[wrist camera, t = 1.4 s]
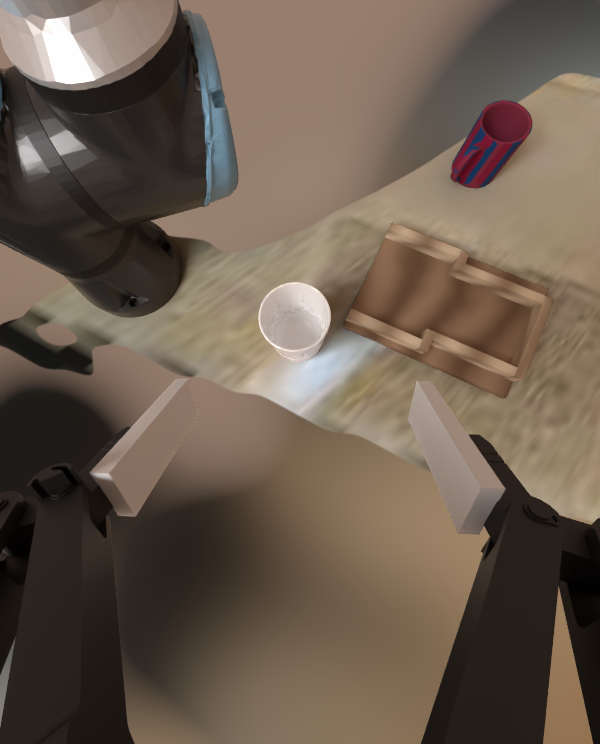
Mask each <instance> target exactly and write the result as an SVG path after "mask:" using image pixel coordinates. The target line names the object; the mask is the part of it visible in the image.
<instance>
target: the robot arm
mask: <svg viewBox="0 0 600 744" xmlns="http://www.w3.org/2000/svg"><path fill="white" fill-rule="evenodd" d="M0 37H1V42H2V46H3V48H4V50H5V52H6V54H7V56H8V57H9V59H10V60H11V62H12V63H13V64H14V66H13V67H10V68H6V69H1V68H0V243H2V244H4V245H6V246H8V247H10V248H12V249H13V250H15V251H17V252H19V253H21V254H23V255H25V256H27V257H29V258H31V259H33V260H35V261H37V262H39V263H41V264H43V265H45V266H47V267H49V268H50V269H53V270H55V271H56V272H59V273H60V274H62V275H64V276H65V277H66V278H67V279H68V280H69V281H70V282H71V283H72V284H73V285H74V287H75V288H76V289H77V290H78V291H79V292H80V293H81V294H82V295H83V296H84V297H85V298H86V299H87V300H88V301H90V302H91V303H92V304H94V305H95V306H97V307H98V308H100V309H102V310H104V311H106V312H109V313H111V314H113V315H116V316H120V317H139V316H143V315H146V314H149V313H151V312H153V311H155V310H157V309H158V308H160V307H161V306H162V305H164V304H165V303H166V302H167V301H168V300H169V299H170V298H171V296H172V295H173V294H174V292H175V290H176V288H177V286H178V284H179V281H180V278H181V273H182V261H181V256H180V253H179V250H178V248H177V247H176V245H175V243H174V242H173V241H172V240H171V238H170V237H169V236H168V235H167V234H166V233H165V231H163V230H162V229H161V228H160V227H159V226H157V225H156V224H155V223H153V222H151V220H154V219H158V218H161V217H165V216H169V215H173V214H176V213H180V212H183V211H187V210H190V209H194V208H198V207H202V206H203V207H206V206H208V205H209V203H210V202H213V201H215V200H218V199H221V198H224V197H227V196H229V195H230V194H231V193H232V192H233V191H234V190H235V189H236V187H237V183H238V166H237V159H236V152H235V147H234V141H233V135H232V130H231V125H230V120H229V115H228V110H227V107H226V104H225V102H224V98H225V97H224V93H223V89H222V83H221V78H220V73H219V68H218V64H217V60H216V56H215V52H214V48H213V44H212V41H211V37H210V34H209V31H208V28H207V25H206V23H205V20H204V19H203V18H202V17H201V15H199V14H197V13H192V12H191V11H189V10H188V11H187V10H185V11H183V14H182V11H181V7H180V4H179V2H178V0H0ZM198 416H199V413H198V409H197V406H196V403H195V400H194V397H193V393H192V389H191V386H190V383H189V380H188V379H175V380H174V381H173V382H172V383H171V385H170V386H169V387H168V388H167V389H166V390H165V391H164V392H163V393H162V394H161V395H160V397H159V398H158V399H157V400H156V401H155V402H154V403H153V404H152V405H151V407H149V409H148V410H147V411H146V412H145V413H144V414H143V415H142V416H141V417H140V418H139V419H138V420H137V422H136V423H135V424H134V425H133V426H132V427H126V428H125V429H123V430H122V431H121V432H119V433H117V434H116V435H115V436H114V437H113V438H112V439H111V440H110V441H109V442H108V444H106V445H105V446H104V447H103V449H102V451H100V452H99V453H98V454H97V455H96V456H95V457H94V458H93V459H92V460H91V461H90V462H89V463H88V464H87V465H86V466H85V467H84V468H83V469H82V471H81V472H79V473H77V472H76V470H75V469H74V468H73V466H72V465H71V464H69V463H59V464H56V465H52V466H50V467H48V468H46V469H44V470H42V471H41V472H39V473H38V474H37V475H35V476H34V477H33V478H32V479H31V480H30V481H29V483H28V484H27V486H26V487H27V489H28V490H29V491H30V492H31V493H32V494H33V495H34V496H32V497H27V498H23V497H22V496H21V495H20V494H19V493H18V492H15V491H9V492H4V493H1V494H0V554H1V552H2V551H3V552H4V553H3V555H2V557H1V558H0V674H1V672H2V669H3V667H4V664H5V661H6V659H7V657H8V654H9V651H10V649H11V646H12V644H13V641H14V639H15V636H16V639H15V644H14V650H13V656H12V663H11V668H10V674H9V680H8V686H7V692H6V698H5V704H4V709H3V715H2V721H1V727H0V744H134V741H133V739H132V736H131V734H130V731H129V728H128V723H127V715H126V702H125V691H124V679H123V667H122V656H121V645H120V632H119V620H118V608H117V597H116V585H115V574H114V563H113V550H112V538H111V526H110V519H109V517H108V513H109V512H110V511H111V509H112V508H114V510H115V511H116V513H117V514H118V515H119V516H136V515H137V513H138V512H139V510H140V508H141V507H142V505H143V504H144V502H145V500H146V499H147V497H148V496H149V494H150V492H151V491H152V489H153V488H154V486H155V484H156V483H157V481H158V480H159V478H160V476H161V475H162V473H163V472H164V470H165V468H166V467H167V465H168V464H169V462H170V460H171V459H172V457H173V456H174V454H175V452H176V451H177V449H178V448H179V446H180V444H181V443H182V441H183V440H184V438H185V437H186V435H187V433H188V432H189V430H190V429H191V427H192V425H193V424H194V422H195V421H196V419H197V417H198ZM408 420H409V423H410V425H411V427H412V430H413V432H414V434H415V436H416V439H417V441H418V443H419V446H420V448H421V450H422V452H423V455H424V457H425V459H426V462H427V464H428V466H429V468H430V471H431V473H432V475H433V478H434V480H435V482H436V484H437V487H438V489H439V491H440V493H441V496H442V498H443V500H444V503H445V505H446V507H447V509H448V512H449V514H450V516H451V519H452V521H453V523H454V525H455V528H456V530H457V532H458V533H459V534H480V532H481V530H482V529H483V527H484V526H485V528H486V530H487V532H488V534H489V536H490V538H489V539H488V541H487V542H486V544H485V545H484V547H483V549H482V550H481V552H483V556H482V559H481V562H480V565H479V568H478V571H477V574H476V577H475V580H474V583H473V586H472V589H471V592H470V595H469V599H468V601H467V604H466V608H465V611H464V614H463V617H462V620H461V623H460V626H459V629H458V632H457V635H456V638H455V641H454V644H453V647H452V650H451V654H450V656H449V660H448V662H447V666H446V669H445V672H444V675H443V678H442V681H441V684H440V687H439V690H438V693H437V696H436V699H435V702H434V705H433V709H432V711H431V715H430V717H429V721H428V724H427V727H426V730H425V733H424V736H423V739H422V742H421V744H543V736H544V726H545V717H546V707H547V696H548V687H549V677H550V666H551V656H552V646H553V635H554V626H555V616H556V606H557V596H558V586H559V589H560V593H561V598H562V603H563V607H564V612H565V616H566V621H567V625H568V630H569V634H570V639H571V644H572V648H573V653H574V657H575V662H576V667H577V671H578V676H579V680H580V685H581V689H582V694H583V698H584V703H585V708H586V712H587V717H588V721H589V726H590V730H591V735H592V740H593V744H600V518H598V519H597V520H596V521H595V522H594V523H593V524H592V525H589V524H586V523H583V522H579V521H576V520H573V519H569V518H566V517H563V516H560V515H559V514H558V513H557V512H556V511H555V510H554V509H553V508H552V507H551V506H550V505H548V504H547V503H545V502H543V501H542V500H540V499H537V498H535V497H532V496H530V495H529V493H528V492H527V491H526V489H525V488H524V487H523V485H522V484H521V483H520V481H519V480H518V479H517V478H516V476H515V475H514V474H513V472H512V471H511V470H510V468H509V467H508V466H507V464H505V463H504V460H503V459H502V458H501V457H500V455H498V453H497V451H496V450H495V449H494V447H493V446H492V445H491V443H489V442H488V441H487V440H485V439H484V438H483V437H481V436H480V435H468V434H467V432H466V431H465V429H464V428H463V426H462V425H461V424H460V422H459V421H458V419H457V418H456V416H455V415H454V413H453V412H452V410H451V409H450V408H449V406H448V405H447V403H446V402H445V400H444V399H443V397H442V396H441V394H440V393H439V392H438V390H437V389H436V387H435V386H434V384H433V383H432V381H417V382H416V386H415V391H414V395H413V399H412V404H411V408H410V412H409V417H408Z"/></svg>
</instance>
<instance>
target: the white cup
mask: <svg viewBox="0 0 600 744" xmlns="http://www.w3.org/2000/svg"><path fill="white" fill-rule="evenodd" d="M330 322H331V311H330V307H329V304H328V302H327V300H326V298H325V297H324V295H323V294H322V293H321V292H320V291H319V290H318V289H316V288H315V287H313V286H311V285H309V284H306V283H301V282H290V283H285V284H282V285H280V286H278V287H276V288H274V289H273V290H272V291H271V292H269V293H268V294H267V296H266V297H265V298H264V300H263V302H262V304H261V306H260V310H259V325H260V329H261V331H262V333H263V335H264V337H265V338H266V339H267V340H268V342H269V343H270V344H271V345H272V346H273V347H274V348H275V350H277V351H278V352H279V353H280V354H281V355H282V356H284V357H285V358H286V359H288V360H289V361H294V362H303V361H307V360H310V359H311V358H312V357H313V356H314V355H316V354H317V353H318V350H319V349H320V347H321V346H322V344H323V342H324V340H325V337H326V334H327V332H328V329H329V326H330Z"/></svg>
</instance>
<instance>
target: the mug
mask: <svg viewBox="0 0 600 744" xmlns="http://www.w3.org/2000/svg"><path fill="white" fill-rule="evenodd" d="M531 129H532V118H531V116H530V114H529V112H528V111H527V110H526V109H525V108H524V107H523V106H521V105H520V104H518V103H515V102H512V101H497V102H494V103H492V104H490V105H488V106H487V107H486V108H485V109H484V110H483V111H482V113H481V114H480V117H479V118H478V120H477V121H476V123H475V125H474V126H473V128H472V130H471V132H470V133H469V135H468V137H467V138H466V140H465V142H464V144H463V145H462V147H461V149H460V151H459V152H458V154H457V156H456V157H455V159H454V161H453V164H452V173H451V179H452V180H453V181H455V182H457V181H458V182H459V183H460V184H462V185H464V186H466V187H470V188H479V187H483V186H485V185H487V184H489V183H490V182H491V181H492V180H493V179H494V177H495V176H496V175H497V174H498V172H499V171H500V170H501V169H502V167H503V166H504V165H505V164H506V162H507V161H508V160H509V159H510V157H511V156H512V155H513V154H514V152H515V151H516V150H517V149H518V147H519V146H520V145H521V144H522V143H523V141H524V140H525V139H526V138H527V136H528V135H529V134H530V132H531Z"/></svg>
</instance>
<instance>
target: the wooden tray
mask: <svg viewBox="0 0 600 744" xmlns="http://www.w3.org/2000/svg"><path fill="white" fill-rule="evenodd" d="M469 254H470V253H468V252H466V251H463V250H461V249H458V248H456V247H453V246H451V245H448V244H445V243H443V242H440V241H438V240H435V239H433V238H430V237H428V236H425V235H423V234H420V233H418V232H415V231H413V230H410V229H408V228H405V227H403V226H400V225H398V224H395V223H393V222H392V223H391V225H390V228H389V230H388V232H387V234H386V236H385V239H384V241H383V243H382V245H381V247H380V249H379V251H378V253H377V255H376V258H375V260H374V262H373V264H372V266H371V268H370V270H369V272H368V274H367V276H366V279H365V281H364V283H363V285H362V287H361V289H360V291H359V293H358V295H357V297H356V300H355V302H354V304H353V306H352V308H351V309H350V312H349V314H348V316H347V318H346V321H345V323H344V325H343V327H344V328H346V329H348V330H351V331H353V332H355V333H357V334H360V335H362V336H364V337H366V338H369V339H371V340H373V341H375V342H377V343H380V344H382V345H384V346H386V347H389V348H391V349H393V350H395V351H398V352H400V353H402V354H404V355H407V356H409V357H411V358H413V359H416V360H418V361H420V362H422V363H424V364H427V365H429V366H431V367H433V368H436V369H438V370H440V371H442V372H445V373H447V374H449V375H451V376H454V377H456V378H458V379H460V380H462V381H465V382H467V383H469V384H471V385H474V386H476V387H478V388H480V389H483V390H485V391H487V392H489V393H492V394H494V395H496V396H498V397H500V398H506V397H507V394H508V392H509V389H510V387H511V384H512V382H513V381H519V380H524V377H525V375H526V372H527V369H528V367H529V364H530V362H531V359H532V356H533V354H534V351H535V349H536V346H537V343H538V341H539V338H540V336H541V333H542V330H543V328H544V325H545V323H546V320H547V317H548V315H549V312H550V309H551V307H552V304H553V302H554V299H552V298H550V297H547V296H546V294H547V291H548V289H546V288H544V287H541V286H539V285H536V284H534V283H531V282H529V281H526V280H524V279H521V278H519V277H516V276H514V275H511V274H509V273H506V272H504V271H501V270H499V269H496V268H494V267H491V266H488V265H486V264H483V263H481V262H478V261H476V260H473V259H471V258H468V256H469Z"/></svg>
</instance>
